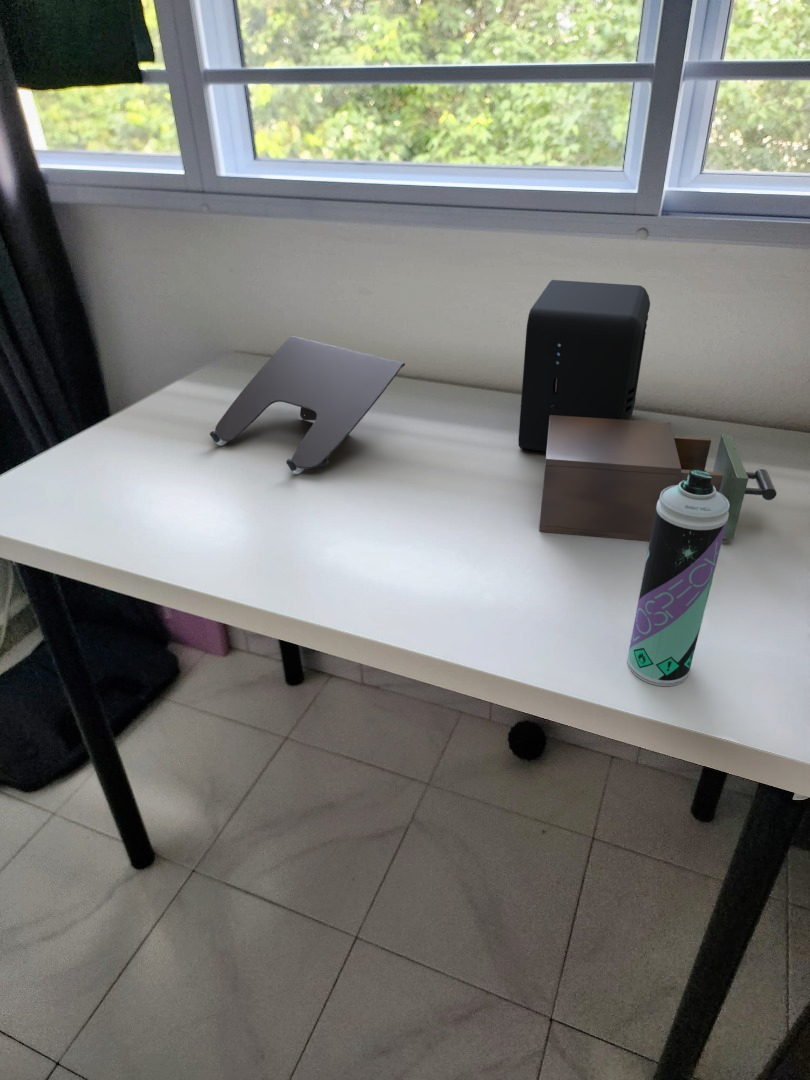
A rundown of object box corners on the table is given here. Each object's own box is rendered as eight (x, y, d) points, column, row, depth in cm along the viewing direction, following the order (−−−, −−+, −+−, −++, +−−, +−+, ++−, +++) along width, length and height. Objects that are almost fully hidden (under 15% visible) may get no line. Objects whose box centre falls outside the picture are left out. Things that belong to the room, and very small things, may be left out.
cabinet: (657, 490, 97) (670, 422, 92) (666, 542, 87) (681, 468, 81) (543, 482, 99) (549, 414, 94) (538, 531, 89) (545, 458, 84)
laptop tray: (223, 468, 117) (193, 428, 110) (308, 367, 125) (285, 324, 118) (332, 511, 105) (307, 470, 98) (418, 397, 114) (400, 351, 106)
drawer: (753, 494, 94) (769, 437, 90) (772, 542, 85) (790, 481, 80) (608, 483, 97) (616, 427, 93) (611, 528, 88) (620, 469, 83)
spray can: (614, 656, 70) (649, 465, 59) (660, 639, 72) (702, 452, 61) (654, 693, 66) (698, 495, 55) (702, 675, 68) (753, 480, 57)
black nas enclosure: (621, 467, 102) (644, 322, 92) (516, 454, 107) (527, 312, 96) (633, 412, 119) (654, 282, 108) (542, 402, 123) (553, 276, 112)
